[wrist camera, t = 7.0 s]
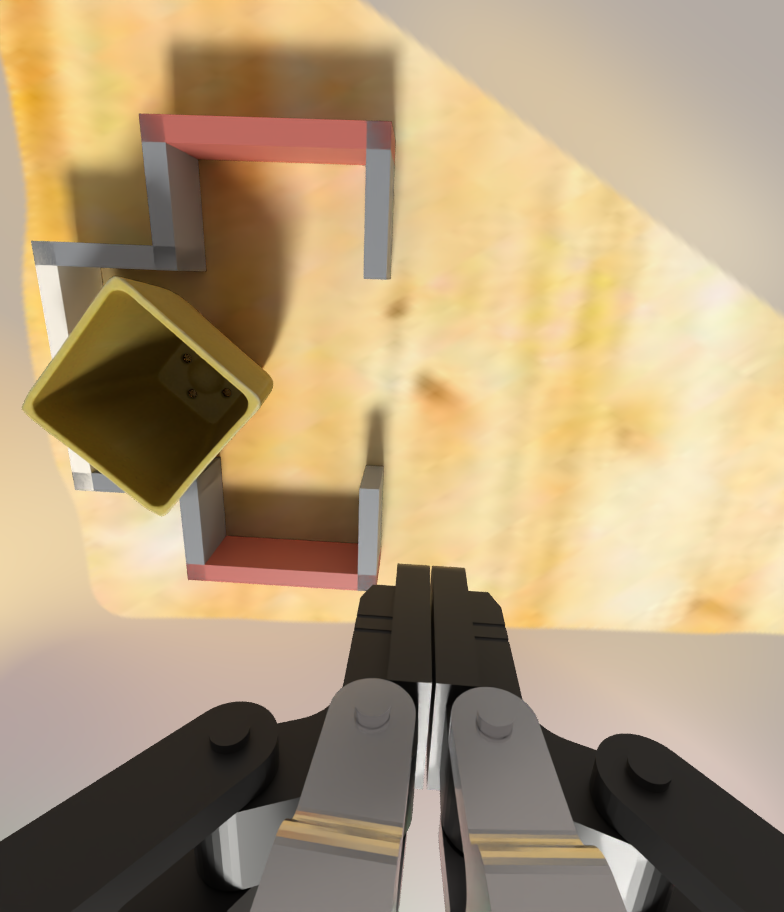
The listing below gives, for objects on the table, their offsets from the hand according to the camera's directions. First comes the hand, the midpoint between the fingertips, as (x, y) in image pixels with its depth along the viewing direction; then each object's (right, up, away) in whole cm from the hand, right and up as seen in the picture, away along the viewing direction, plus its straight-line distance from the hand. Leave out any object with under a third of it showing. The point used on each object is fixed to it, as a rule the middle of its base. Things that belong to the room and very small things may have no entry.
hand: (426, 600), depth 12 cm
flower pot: (-13, +9, +22) cm, 27 cm away
